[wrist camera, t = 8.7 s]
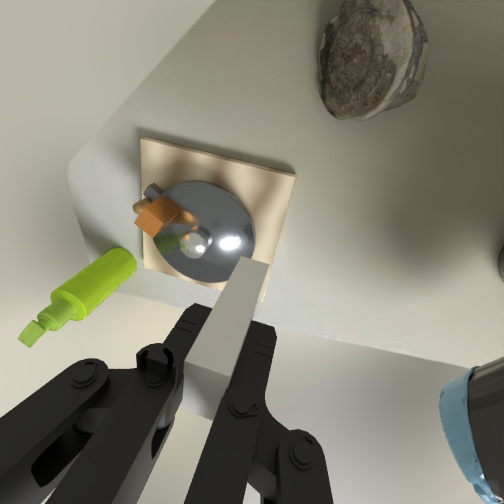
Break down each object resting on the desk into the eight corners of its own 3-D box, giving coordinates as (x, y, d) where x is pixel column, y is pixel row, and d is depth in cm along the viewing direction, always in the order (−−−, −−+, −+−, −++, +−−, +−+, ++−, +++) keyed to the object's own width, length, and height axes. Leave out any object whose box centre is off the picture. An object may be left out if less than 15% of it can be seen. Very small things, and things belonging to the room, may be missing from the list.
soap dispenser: (145, 261, 51) (55, 343, 34) (127, 279, 55) (37, 362, 38) (120, 238, 50) (14, 312, 33) (103, 258, 54) (-1, 334, 37)
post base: (296, 174, 37) (291, 187, 32) (263, 297, 49) (256, 321, 44) (146, 137, 40) (119, 143, 35) (148, 262, 51) (128, 281, 46)
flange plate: (279, 236, 39) (270, 259, 34) (214, 293, 47) (199, 320, 42) (179, 143, 36) (152, 152, 31) (128, 222, 44) (99, 240, 39)
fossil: (296, 37, 30) (342, -25, 21) (370, 1, 30) (449, -76, 21) (330, 137, 34) (383, 123, 24) (396, 103, 34) (473, 76, 25)
